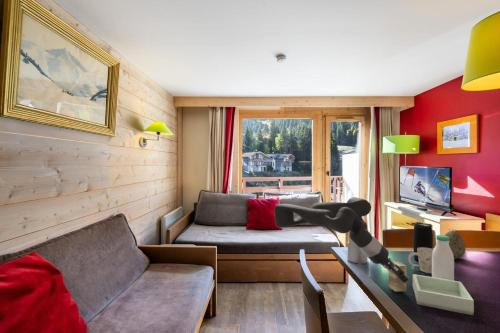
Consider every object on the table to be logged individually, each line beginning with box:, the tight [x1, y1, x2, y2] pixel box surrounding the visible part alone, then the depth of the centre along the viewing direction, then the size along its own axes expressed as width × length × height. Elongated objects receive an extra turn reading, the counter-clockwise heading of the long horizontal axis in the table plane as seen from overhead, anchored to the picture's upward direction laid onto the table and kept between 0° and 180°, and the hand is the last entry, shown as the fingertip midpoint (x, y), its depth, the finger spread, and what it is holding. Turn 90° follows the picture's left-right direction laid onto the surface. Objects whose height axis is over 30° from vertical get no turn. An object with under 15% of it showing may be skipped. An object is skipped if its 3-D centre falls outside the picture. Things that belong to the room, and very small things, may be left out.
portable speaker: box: [412, 221, 434, 261], centre depth 139 cm, size 9×9×20 cm
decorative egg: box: [444, 230, 467, 260], centre depth 142 cm, size 11×11×15 cm
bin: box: [412, 273, 475, 316], centre depth 99 cm, size 16×16×5 cm
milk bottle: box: [431, 234, 455, 281], centre depth 113 cm, size 8×8×20 cm
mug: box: [407, 247, 434, 274], centre depth 125 cm, size 8×13×10 cm, turn 78°
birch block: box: [388, 261, 407, 292], centre depth 105 cm, size 4×4×10 cm
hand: (401, 278), depth 105 cm, fingers closed on birch block, 4 cm apart
